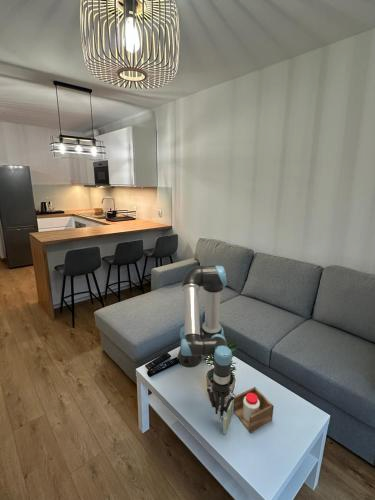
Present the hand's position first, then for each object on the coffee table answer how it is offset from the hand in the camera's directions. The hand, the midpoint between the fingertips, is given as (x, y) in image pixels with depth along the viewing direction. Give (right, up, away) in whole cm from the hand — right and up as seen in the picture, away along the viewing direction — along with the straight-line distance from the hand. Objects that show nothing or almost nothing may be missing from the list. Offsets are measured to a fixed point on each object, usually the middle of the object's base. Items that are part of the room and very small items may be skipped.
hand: (219, 419), depth 124 cm
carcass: (+17, -1, +4) cm, 17 cm away
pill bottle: (+16, 0, +3) cm, 16 cm away
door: (+4, -2, +1) cm, 4 cm away
